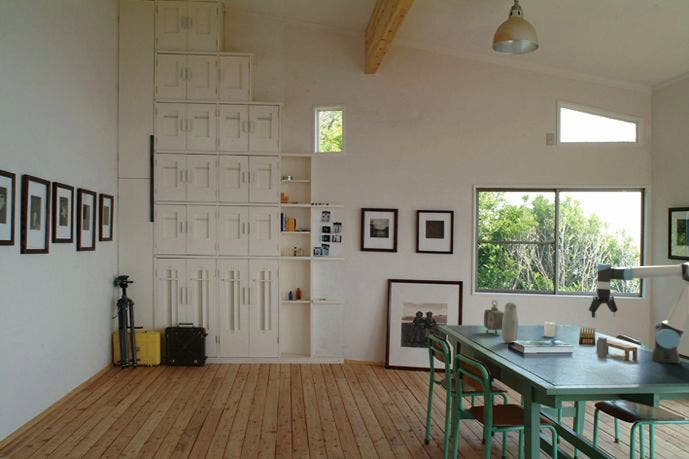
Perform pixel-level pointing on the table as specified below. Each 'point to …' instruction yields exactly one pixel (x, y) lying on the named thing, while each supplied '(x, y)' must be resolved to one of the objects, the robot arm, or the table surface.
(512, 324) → the beige vase
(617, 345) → the low bench
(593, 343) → the ammunition clip
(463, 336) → the table surface
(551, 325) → the white cup
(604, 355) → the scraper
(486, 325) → the tabletop clock
